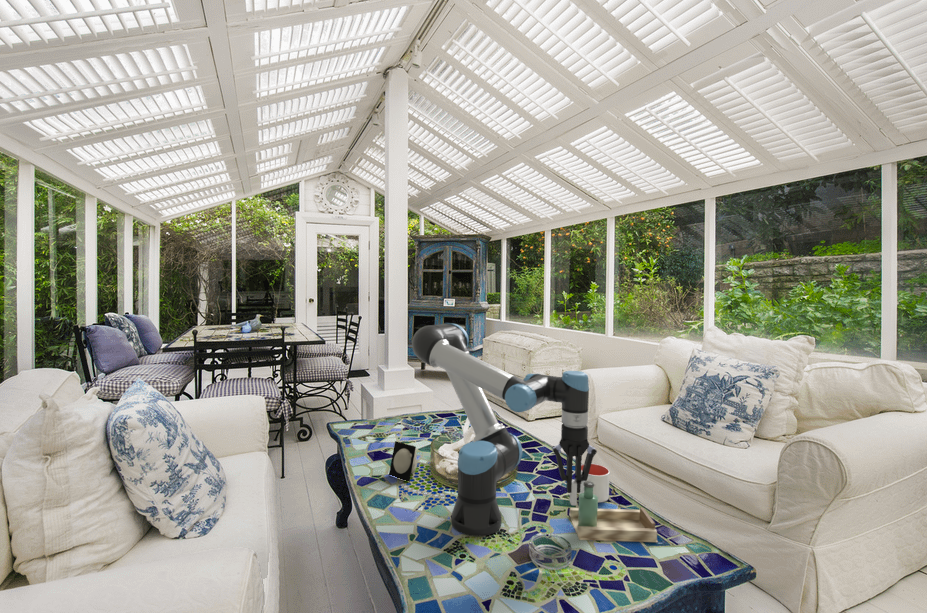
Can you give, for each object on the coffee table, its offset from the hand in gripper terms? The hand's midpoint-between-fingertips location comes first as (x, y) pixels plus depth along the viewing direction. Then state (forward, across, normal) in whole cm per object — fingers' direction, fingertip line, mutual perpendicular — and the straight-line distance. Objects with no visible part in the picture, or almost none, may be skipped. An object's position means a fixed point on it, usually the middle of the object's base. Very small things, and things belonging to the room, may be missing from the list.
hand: (573, 502), depth 132 cm
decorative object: (+8, -55, +33) cm, 65 cm away
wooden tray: (+8, +11, 0) cm, 14 cm away
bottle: (+7, +4, 0) cm, 8 cm away
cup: (+8, +11, +20) cm, 25 cm away
